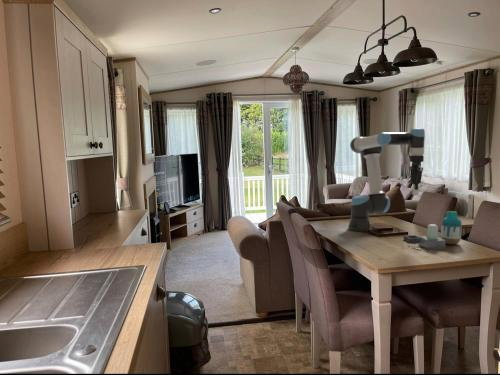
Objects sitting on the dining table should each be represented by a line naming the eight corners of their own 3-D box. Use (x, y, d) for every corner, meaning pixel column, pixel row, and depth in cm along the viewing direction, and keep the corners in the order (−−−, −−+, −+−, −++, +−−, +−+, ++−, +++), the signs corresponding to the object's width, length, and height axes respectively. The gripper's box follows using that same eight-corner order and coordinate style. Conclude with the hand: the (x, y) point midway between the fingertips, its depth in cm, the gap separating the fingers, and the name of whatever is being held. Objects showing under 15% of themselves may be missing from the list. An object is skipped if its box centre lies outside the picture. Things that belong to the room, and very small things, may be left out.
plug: (426, 246, 224) (427, 224, 222) (433, 245, 224) (434, 224, 223) (430, 247, 220) (431, 225, 218) (437, 247, 220) (438, 225, 219)
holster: (403, 239, 239) (403, 235, 239) (415, 239, 240) (415, 235, 239) (408, 242, 232) (409, 238, 232) (421, 242, 232) (421, 238, 232)
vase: (449, 247, 221) (451, 213, 219) (436, 242, 232) (437, 210, 229) (465, 245, 224) (466, 212, 222) (451, 241, 234) (452, 209, 232)
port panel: (419, 244, 227) (419, 235, 226) (436, 244, 227) (436, 235, 226) (427, 249, 217) (427, 239, 216) (445, 249, 217) (445, 239, 216)
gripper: (405, 154, 235) (404, 193, 238) (415, 155, 222) (413, 196, 225) (418, 154, 235) (416, 193, 238) (428, 155, 222) (426, 196, 225)
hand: (415, 194), depth 231 cm, fingers closed
